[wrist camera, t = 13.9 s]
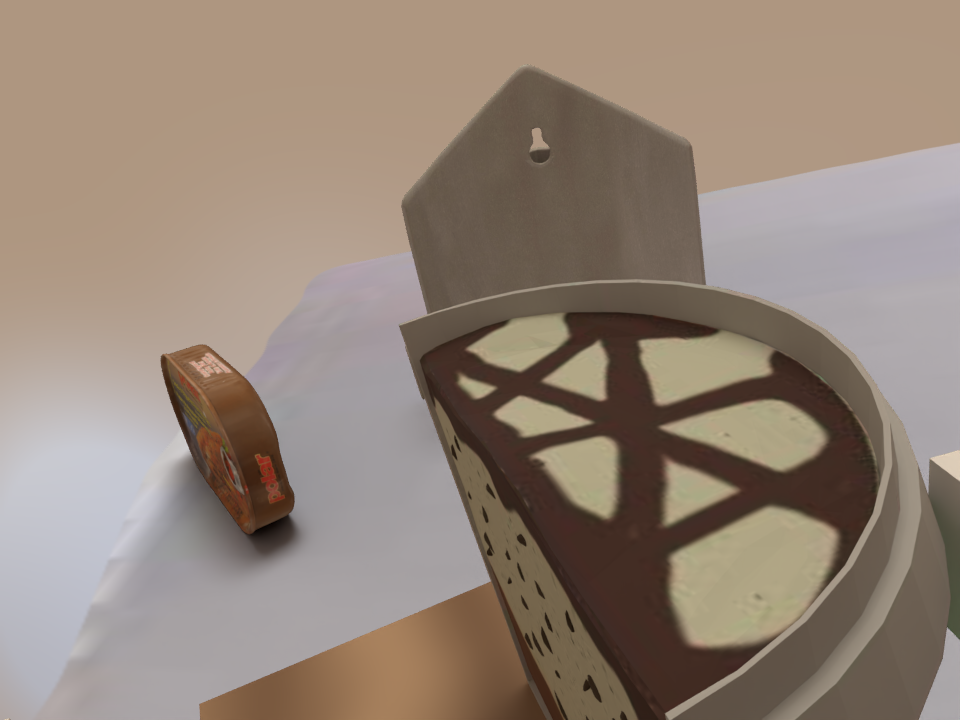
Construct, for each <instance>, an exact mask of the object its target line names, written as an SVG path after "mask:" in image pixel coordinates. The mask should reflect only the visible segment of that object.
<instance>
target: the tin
mask: <svg viewBox="0 0 960 720" xmlns="http://www.w3.org/2000/svg"><path fill="white" fill-rule="evenodd" d="M161 368H162V372H163V376H164V380H165V384H166V387H167V391H168V394H169V397H170V400H171V403H172V406H173V409H174V412H175V414H176V417H177V419H178V422H179V425H180V427H181V429H182V432H183V434H184V437H185V439H186V442H187V444H188V447H189V449H190V452H191V454H192V456H193V458H194V460H195V462H196V464H197V466H198V468H199V470H200V472H201V473H202V474H203V476H204V478H205V479H206V481H207V482H208V484H209V485H210V486H211V488H212V489H213V490H214V492H215V493H216V495H217V496H218V497H219V499H220V500H221V501H222V503H223V504H224V506H225V507H226V508H227V510H228V511H229V513H230V514H231V515H232V517H233V518H234V519H235V521H236V522H237V524H238V525H239V526H240V528H241V529H242V530H243V531H244V532H245V533H247V534H252V533H253V532H254V531H255V530H257V529H259V528H261V527H263V526H265V525H268V524H270V523H272V522H274V521H277V520H279V519H281V518H283V517H285V516H286V515H288V514H289V513H290V512H291V511H292V510H293V507H294V502H295V501H294V492H293V490H292V488H291V487H290V485H289V482H288V478H287V474H286V471H285V468H284V464H283V461H282V458H281V454H280V450H279V443H278V438H277V434H276V431H275V429H274V426H273V423H272V421H271V419H270V417H269V415H268V413H267V411H266V408H265V406H264V405H263V403H262V401H261V399H260V397H259V396H258V394H257V392H256V391H255V390H254V388H253V387H252V385H251V384H250V383H249V381H248V380H247V379H245V378H244V377H243V376H242V375H241V374H240V373H239V372H238V371H237V370H236V369H234V368H233V367H232V366H231V365H230V364H229V363H228V362H226V361H225V360H224V359H223V358H222V357H220V356H219V355H218V354H217V353H216V352H215V351H213V350H212V349H211V348H210V347H209V346H207V345H197V346H193V347H190V348H186V349H183V350H180V351H177V352H174V353H171V354H163V355H162V356H161Z"/></svg>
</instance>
